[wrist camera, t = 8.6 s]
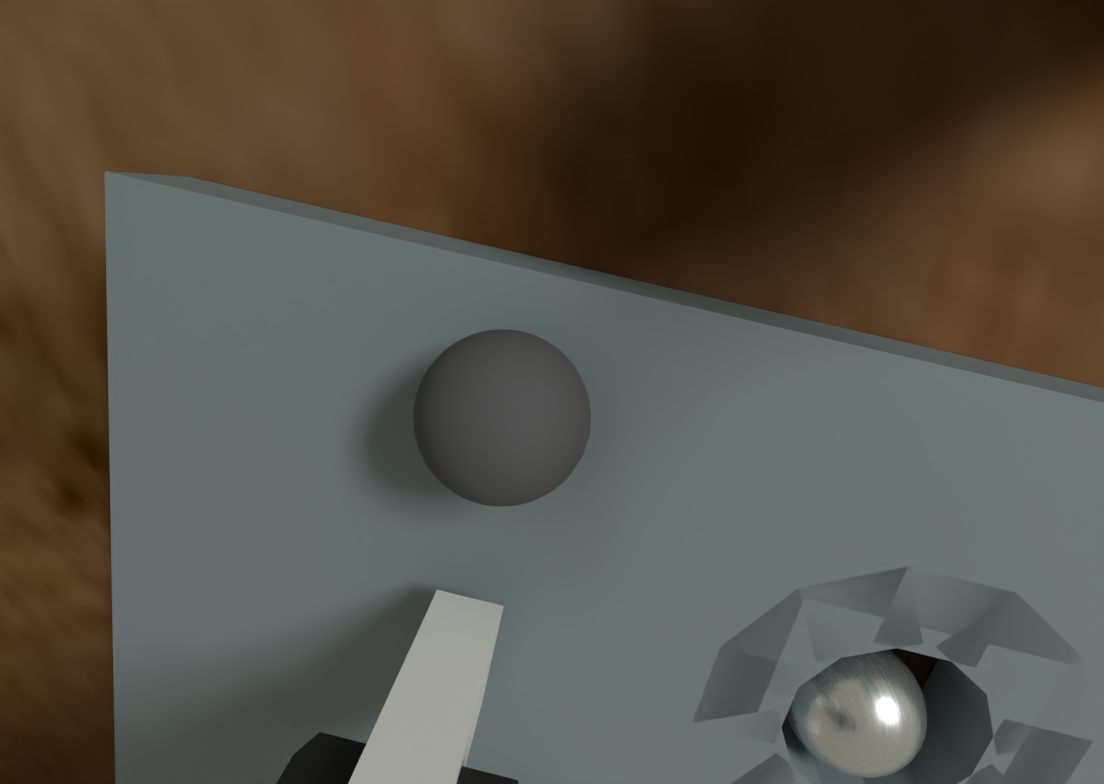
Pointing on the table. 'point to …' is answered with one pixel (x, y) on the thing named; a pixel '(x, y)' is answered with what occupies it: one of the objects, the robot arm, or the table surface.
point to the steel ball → (861, 715)
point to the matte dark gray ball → (502, 417)
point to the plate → (571, 515)
